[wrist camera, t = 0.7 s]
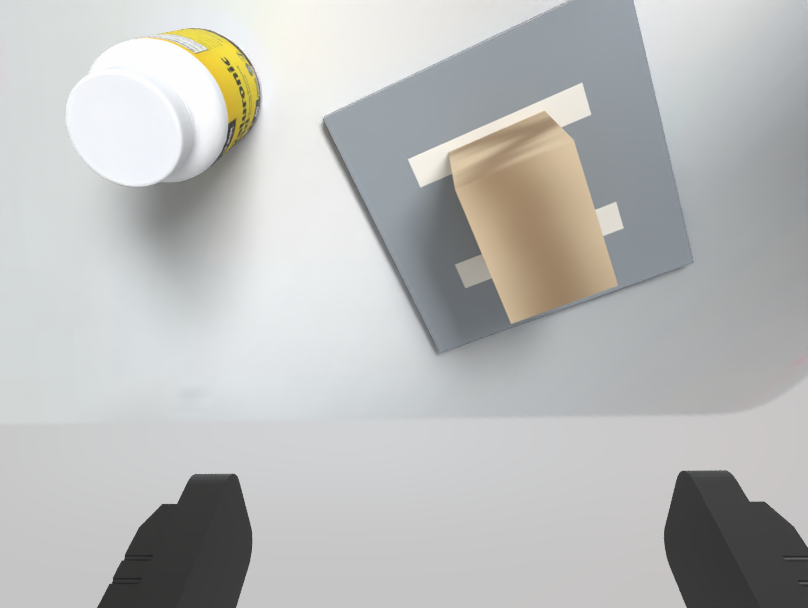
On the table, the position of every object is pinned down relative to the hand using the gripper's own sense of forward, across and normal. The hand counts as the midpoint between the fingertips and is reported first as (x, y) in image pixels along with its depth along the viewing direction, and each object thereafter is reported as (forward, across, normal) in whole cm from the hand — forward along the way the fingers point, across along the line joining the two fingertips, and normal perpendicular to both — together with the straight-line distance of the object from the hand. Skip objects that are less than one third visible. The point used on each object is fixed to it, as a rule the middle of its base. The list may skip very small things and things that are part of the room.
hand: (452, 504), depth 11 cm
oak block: (+22, -4, +2) cm, 22 cm away
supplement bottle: (+22, +11, -4) cm, 25 cm away
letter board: (+22, -4, +2) cm, 23 cm away
